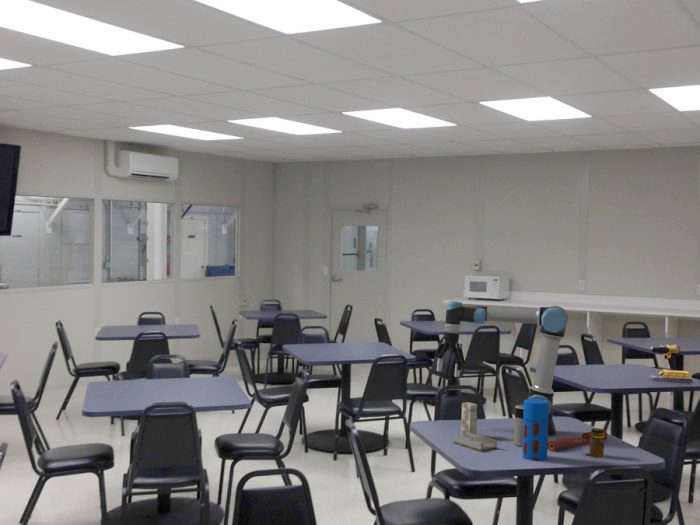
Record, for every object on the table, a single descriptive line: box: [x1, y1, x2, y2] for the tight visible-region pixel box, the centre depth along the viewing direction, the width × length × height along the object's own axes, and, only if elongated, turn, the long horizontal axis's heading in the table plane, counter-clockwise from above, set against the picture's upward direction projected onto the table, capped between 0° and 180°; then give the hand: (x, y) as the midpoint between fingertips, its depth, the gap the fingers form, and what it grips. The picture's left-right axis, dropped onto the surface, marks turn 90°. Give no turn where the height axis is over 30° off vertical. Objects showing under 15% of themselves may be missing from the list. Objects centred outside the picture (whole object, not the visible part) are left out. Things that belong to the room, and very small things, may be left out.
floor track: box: [453, 432, 498, 453], centre depth 358 cm, size 18×10×4 cm, turn 34°
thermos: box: [522, 398, 549, 462], centre depth 340 cm, size 11×11×25 cm
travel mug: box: [513, 404, 524, 447], centre depth 363 cm, size 8×8×18 cm
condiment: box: [582, 427, 608, 459], centre depth 346 cm, size 7×8×12 cm
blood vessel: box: [548, 428, 608, 452], centre depth 366 cm, size 42×5×5 cm, turn 129°
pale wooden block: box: [460, 401, 478, 438], centre depth 377 cm, size 6×4×16 cm
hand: (448, 373), depth 389 cm, fingers open, 13 cm apart
